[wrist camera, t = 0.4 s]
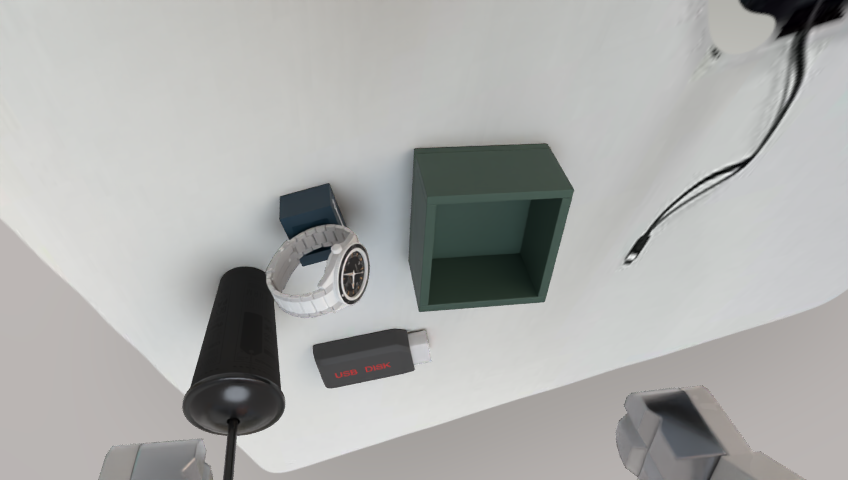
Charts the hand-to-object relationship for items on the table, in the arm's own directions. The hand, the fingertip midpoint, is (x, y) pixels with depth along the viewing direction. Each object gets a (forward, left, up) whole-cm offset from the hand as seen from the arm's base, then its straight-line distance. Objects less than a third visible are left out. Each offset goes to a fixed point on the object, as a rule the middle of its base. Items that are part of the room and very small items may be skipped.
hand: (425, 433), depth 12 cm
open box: (+23, +12, -37) cm, 45 cm away
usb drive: (+42, +2, -37) cm, 56 cm away
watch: (+23, -3, -37) cm, 44 cm away
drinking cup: (+31, -10, -37) cm, 49 cm away
